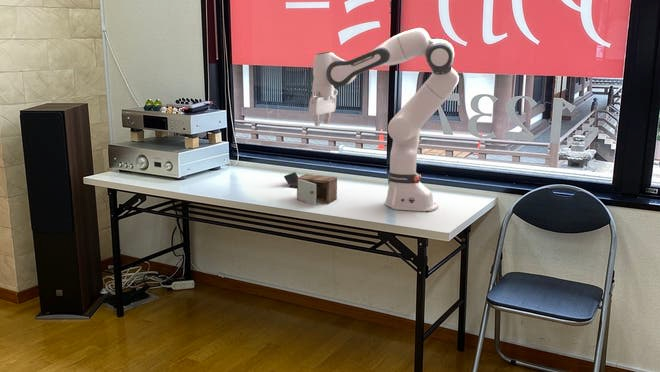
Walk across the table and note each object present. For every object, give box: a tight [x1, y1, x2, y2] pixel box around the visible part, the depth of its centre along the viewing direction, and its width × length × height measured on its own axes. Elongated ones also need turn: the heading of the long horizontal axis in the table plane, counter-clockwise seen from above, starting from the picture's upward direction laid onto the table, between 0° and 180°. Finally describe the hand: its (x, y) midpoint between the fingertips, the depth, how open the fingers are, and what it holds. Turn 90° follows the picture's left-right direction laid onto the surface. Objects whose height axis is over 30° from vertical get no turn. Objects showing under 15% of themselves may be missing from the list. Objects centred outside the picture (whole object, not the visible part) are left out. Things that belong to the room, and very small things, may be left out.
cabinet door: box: [298, 179, 317, 206], centre depth 270 cm, size 12×2×9 cm, turn 37°
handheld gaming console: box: [283, 171, 299, 189], centre depth 305 cm, size 12×7×10 cm
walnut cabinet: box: [296, 173, 338, 205], centre depth 277 cm, size 15×9×10 cm, turn 67°
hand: (321, 124), depth 269 cm, fingers open, 8 cm apart
